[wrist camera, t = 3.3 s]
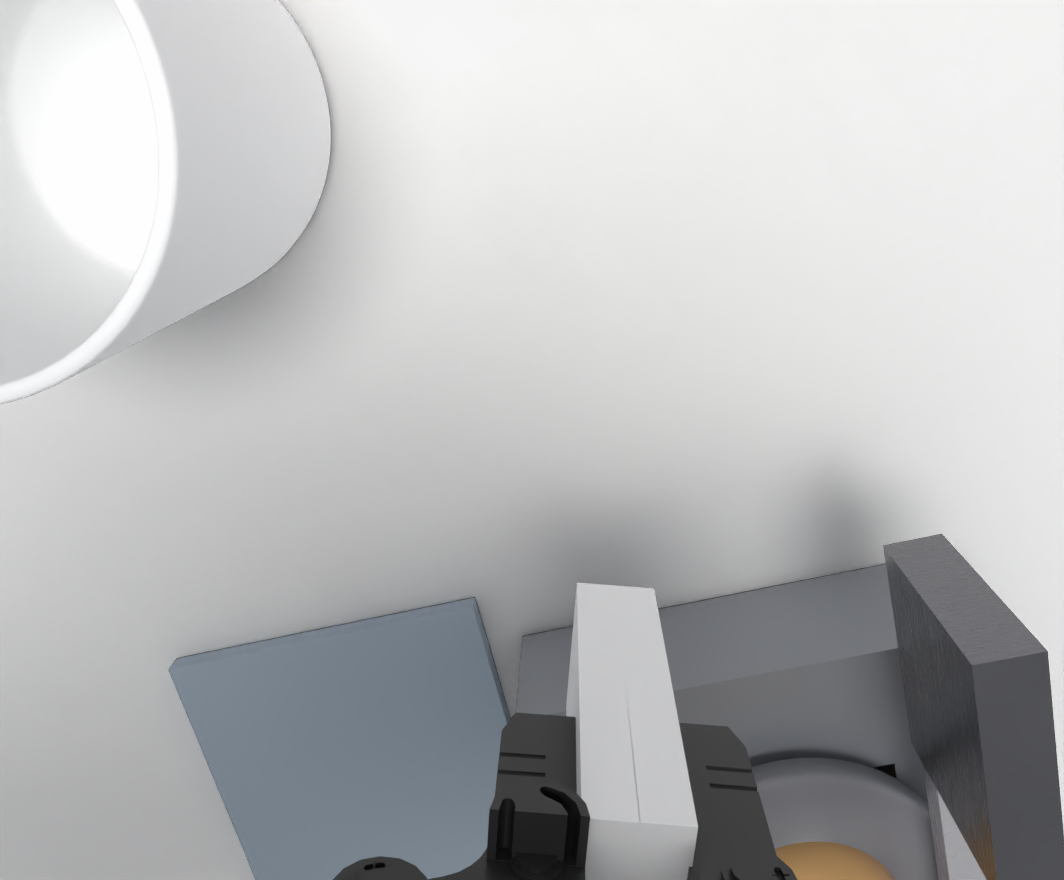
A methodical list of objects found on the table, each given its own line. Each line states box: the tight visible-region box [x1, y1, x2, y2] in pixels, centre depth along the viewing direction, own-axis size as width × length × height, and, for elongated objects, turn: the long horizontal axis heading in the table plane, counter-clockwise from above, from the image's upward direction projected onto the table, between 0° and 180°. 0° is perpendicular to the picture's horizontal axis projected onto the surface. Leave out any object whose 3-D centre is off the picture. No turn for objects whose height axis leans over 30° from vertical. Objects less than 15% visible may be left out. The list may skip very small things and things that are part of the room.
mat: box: [169, 597, 511, 880], centre depth 28 cm, size 9×9×1 cm
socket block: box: [516, 564, 928, 804], centre depth 26 cm, size 12×12×5 cm
